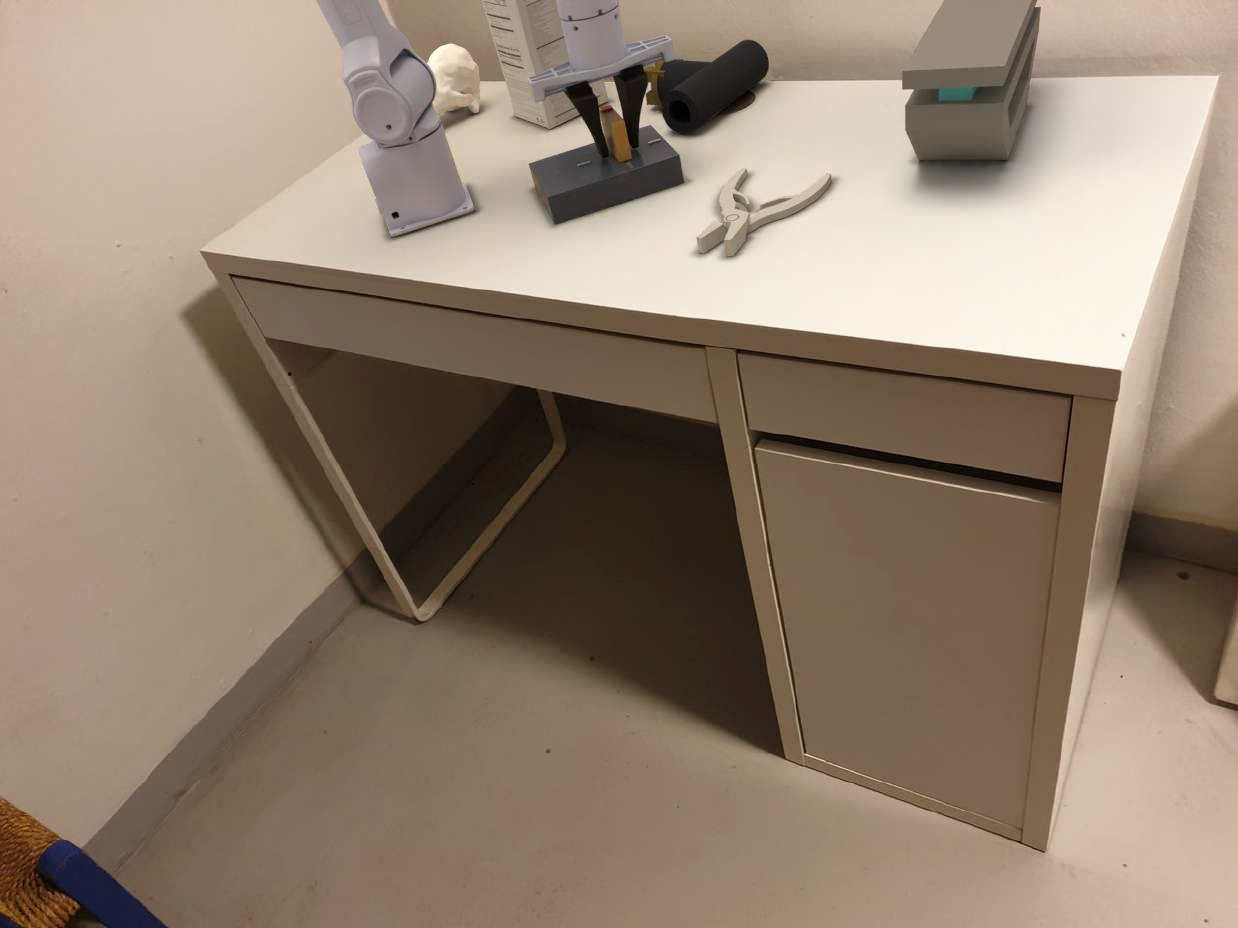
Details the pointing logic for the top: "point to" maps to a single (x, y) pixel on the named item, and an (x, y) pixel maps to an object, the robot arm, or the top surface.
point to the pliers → (742, 223)
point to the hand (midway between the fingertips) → (618, 149)
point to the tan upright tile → (615, 133)
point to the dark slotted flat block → (604, 176)
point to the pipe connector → (704, 85)
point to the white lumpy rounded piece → (455, 79)
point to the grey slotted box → (971, 79)
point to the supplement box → (532, 56)
